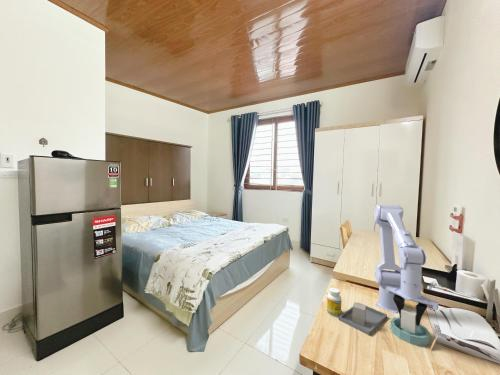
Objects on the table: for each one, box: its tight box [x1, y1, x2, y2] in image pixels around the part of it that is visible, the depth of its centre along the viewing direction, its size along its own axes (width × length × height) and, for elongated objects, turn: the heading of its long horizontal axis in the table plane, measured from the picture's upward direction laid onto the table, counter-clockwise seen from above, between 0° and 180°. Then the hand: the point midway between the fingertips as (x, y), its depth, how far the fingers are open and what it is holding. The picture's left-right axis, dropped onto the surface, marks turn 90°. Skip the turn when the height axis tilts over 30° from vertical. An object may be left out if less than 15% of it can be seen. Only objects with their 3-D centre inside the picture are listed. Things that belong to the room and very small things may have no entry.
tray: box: [338, 302, 388, 336], centre depth 83 cm, size 17×11×2 cm, turn 130°
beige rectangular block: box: [401, 305, 418, 334], centre depth 74 cm, size 4×4×6 cm
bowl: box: [390, 316, 431, 347], centre depth 74 cm, size 11×11×3 cm
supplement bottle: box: [326, 287, 342, 318], centre depth 86 cm, size 5×5×10 cm
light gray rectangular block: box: [352, 301, 367, 326], centre depth 81 cm, size 4×4×6 cm
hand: (409, 320), depth 74 cm, fingers closed on beige rectangular block, 4 cm apart
